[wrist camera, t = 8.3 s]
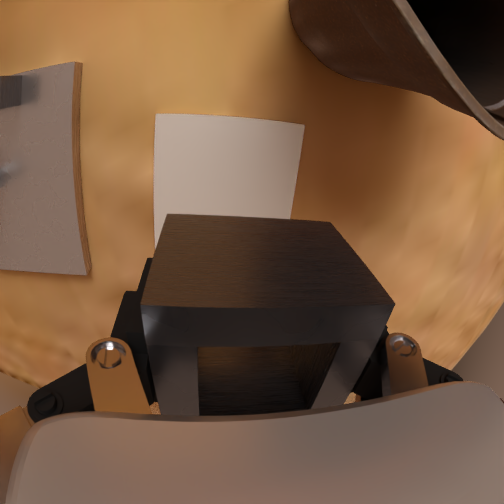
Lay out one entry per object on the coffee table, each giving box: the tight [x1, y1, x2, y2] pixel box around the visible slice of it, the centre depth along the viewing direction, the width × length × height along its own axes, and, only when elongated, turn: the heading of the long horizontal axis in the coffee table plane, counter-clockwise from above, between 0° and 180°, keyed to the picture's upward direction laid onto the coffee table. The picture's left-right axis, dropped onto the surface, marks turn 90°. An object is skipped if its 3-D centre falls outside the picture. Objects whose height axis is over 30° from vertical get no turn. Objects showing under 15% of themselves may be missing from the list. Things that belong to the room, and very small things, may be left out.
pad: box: [154, 114, 305, 249], centre depth 23 cm, size 11×11×1 cm
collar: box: [140, 214, 395, 416], centre depth 10 cm, size 6×6×5 cm
